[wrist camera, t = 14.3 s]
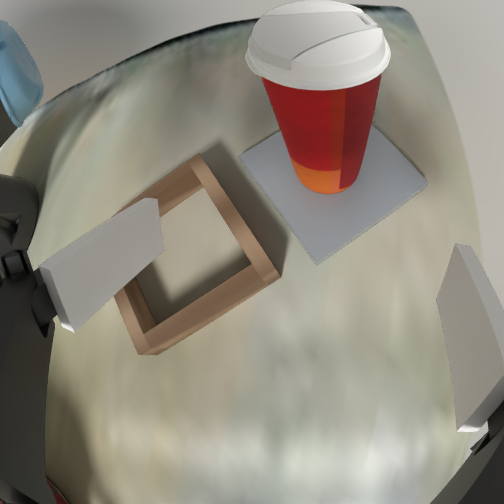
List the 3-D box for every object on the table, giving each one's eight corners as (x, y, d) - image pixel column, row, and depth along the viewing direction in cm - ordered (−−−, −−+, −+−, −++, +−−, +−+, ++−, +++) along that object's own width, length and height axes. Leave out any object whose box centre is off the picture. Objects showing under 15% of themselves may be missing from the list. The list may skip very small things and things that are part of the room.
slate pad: (241, 162, 28) (238, 156, 27) (341, 103, 28) (341, 96, 27) (316, 265, 24) (316, 262, 23) (425, 187, 24) (428, 182, 23)
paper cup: (351, 122, 26) (350, -10, 13) (385, 192, 23) (422, 56, 10) (271, 144, 27) (227, 15, 14) (295, 218, 24) (258, 88, 11)
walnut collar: (110, 242, 29) (92, 232, 27) (210, 170, 29) (198, 153, 26) (157, 354, 25) (138, 354, 22) (281, 277, 24) (275, 267, 22)
